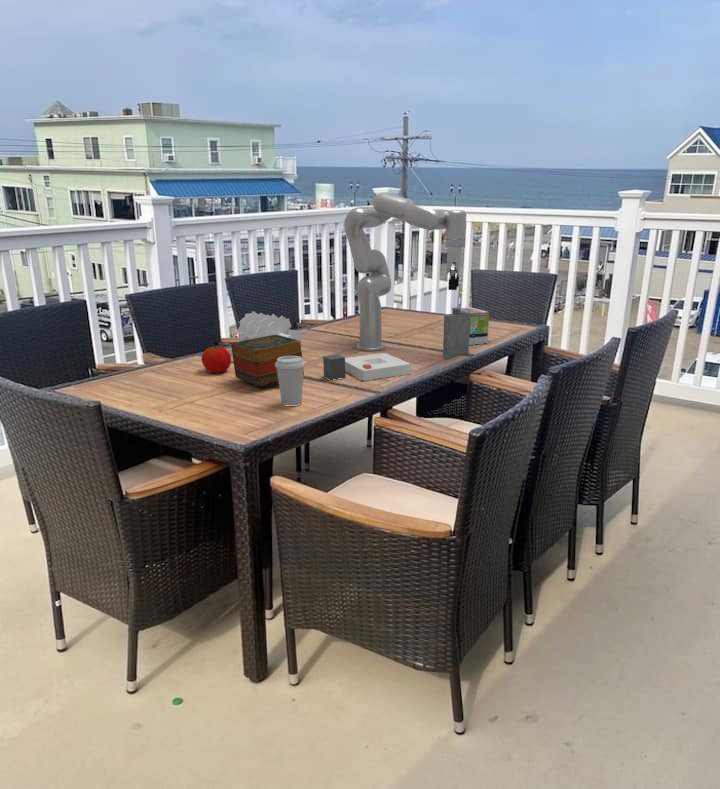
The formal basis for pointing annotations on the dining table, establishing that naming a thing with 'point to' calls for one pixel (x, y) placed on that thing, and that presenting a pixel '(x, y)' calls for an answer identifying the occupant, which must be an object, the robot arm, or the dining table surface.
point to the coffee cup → (290, 379)
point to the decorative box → (262, 358)
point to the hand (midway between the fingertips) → (453, 288)
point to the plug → (334, 366)
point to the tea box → (478, 325)
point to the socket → (376, 366)
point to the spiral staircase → (265, 327)
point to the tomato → (216, 359)
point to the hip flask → (456, 333)
